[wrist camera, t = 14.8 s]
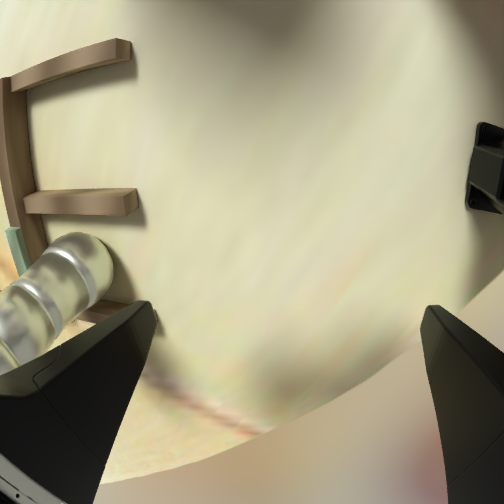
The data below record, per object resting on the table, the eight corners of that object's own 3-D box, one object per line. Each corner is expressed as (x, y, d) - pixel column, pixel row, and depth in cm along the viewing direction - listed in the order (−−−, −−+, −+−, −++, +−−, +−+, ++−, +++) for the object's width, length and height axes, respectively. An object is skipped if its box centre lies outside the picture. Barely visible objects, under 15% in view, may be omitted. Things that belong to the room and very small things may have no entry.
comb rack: (130, 41, 17) (101, 34, 14) (157, 321, 28) (141, 348, 25) (14, 80, 19) (-15, 84, 15) (55, 300, 30) (36, 319, 27)
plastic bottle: (120, 295, 28) (0, 466, 10) (66, 270, 27) (-61, 408, 10) (125, 237, 24) (-44, 423, 7) (65, 214, 24) (-101, 351, 7)
